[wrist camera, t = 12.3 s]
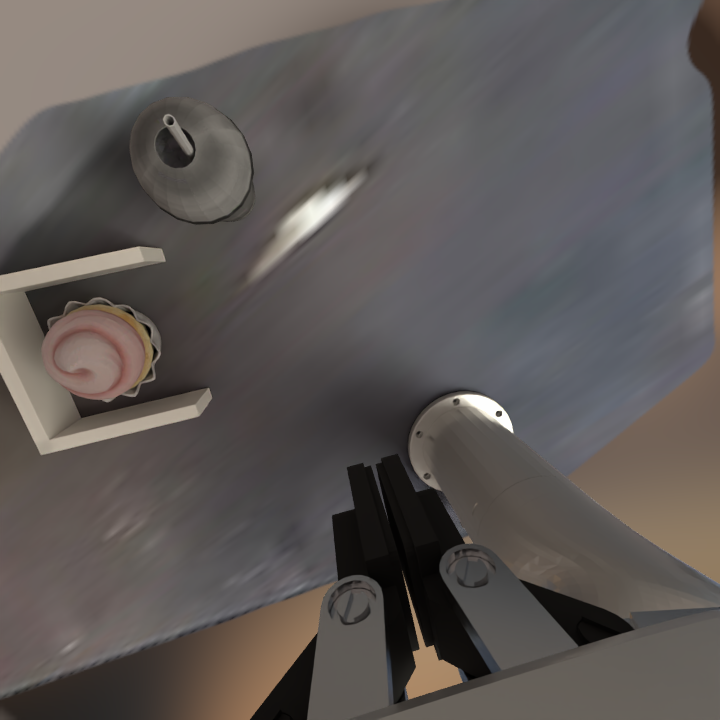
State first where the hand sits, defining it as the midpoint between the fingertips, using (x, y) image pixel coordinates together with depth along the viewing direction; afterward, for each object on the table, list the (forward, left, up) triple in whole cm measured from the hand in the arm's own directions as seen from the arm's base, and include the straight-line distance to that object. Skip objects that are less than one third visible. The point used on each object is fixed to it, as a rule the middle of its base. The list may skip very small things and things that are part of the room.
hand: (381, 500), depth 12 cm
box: (+4, +20, -29) cm, 36 cm away
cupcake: (+4, +19, -29) cm, 35 cm away
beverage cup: (+15, +6, -29) cm, 33 cm away
